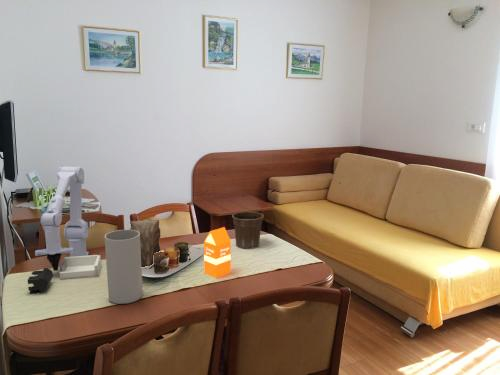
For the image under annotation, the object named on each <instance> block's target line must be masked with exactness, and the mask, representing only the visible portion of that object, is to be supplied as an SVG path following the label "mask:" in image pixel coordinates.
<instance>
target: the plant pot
mask: <svg viewBox="0 0 500 375" xmlns="http://www.w3.org/2000/svg"><path fill="white" fill-rule="evenodd" d="M231 217H232V219H233V225H234V236H235V245H236V247H238V248H241V249H245V250H246V249H247V250H248V249H252V248H257V247H259V246H260V239H261V228H262V224H263V218H264V214H262V213H260V212H258V211H257V212H256V211H239V212H236V213H233V214H232V215H231Z"/></svg>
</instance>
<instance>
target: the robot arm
mask: <svg viewBox="0 0 500 375" xmlns="http://www.w3.org/2000/svg"><path fill="white" fill-rule="evenodd" d="M56 172H57V174H56V176H57V180H58V182H57V185H56V190H55V195H54V196H51V197H50V200H49V203H48V205H47V208H46V210H45V212H44V213H42V214H41V216H40V224H41V226H42V230H44V237H45V247H46V248H43V249H37V250H35V251H34V255H35V257H38V256H46V259H47V261H49V263H50V265H51V267H52V270H53V271H54V272H58V268H59V264H60V260H61V257H62V256H63V254H69V257H75V256H89V251H87V243H86V242H87V241H86V239H88V237H89V234H90V229H89V226H88V225H89V224H88V222H87V221H86V220H84V219H83V218H82V217H83V216H82V211H83V210H82V204H83V202H82V201H83V200H82V198H83V197H82V196H83V195H82V192H83V191H82V189H83V188H82V187H83V186H82V185H83V184H85V170H84V169H83V167H82V166H63V165H61V166H59V167H58V169H57V171H56ZM68 189H69V220H68V221H67V222H66V223H65V224H64V230H63V237H64V238H65V239H66V241H67V242H68V247H62V241H61V231H60V229H61V228H60V226H61V224H62V221H63V217H62V216H63V213H62V212H63V209H64V206H65V204H66V202H65V199H64V198H65V196H66V193H67V191H68Z"/></svg>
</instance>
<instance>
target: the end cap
mask: <svg viewBox="0 0 500 375" xmlns="http://www.w3.org/2000/svg"><path fill="white" fill-rule="evenodd" d="M53 278H54V272H53V271H52V269H50V268H48V267H44V268H43V270H33V271H32V272H31V276H29V277H28V278H27V285H32V286H28V287H27V288H28V294H29V295H35V294H36V295H38V293H39V294H43V293H44V292H46V290H47V289H48V288H49V285H50V283H51V281H52V279H53Z"/></svg>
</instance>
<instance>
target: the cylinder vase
mask: <svg viewBox="0 0 500 375" xmlns="http://www.w3.org/2000/svg"><path fill="white" fill-rule="evenodd" d="M104 248H105V260H106V261H105V262H106V263H105V264H106V277H107V278H106V279H107V290H108V292H107V293H108V299H109V301H110V302H111V303H114V304H118V305H126V304H131V303H134V302H137V301H138V300H140V299H141V298H142V297H143V294H144V293H143V292H144V291H143V271H142V269H143V268H141V247H140V233H139V232H138V231H135V230H130V229H118V230H113V231H110V232H107V233H106V234H104Z"/></svg>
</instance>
